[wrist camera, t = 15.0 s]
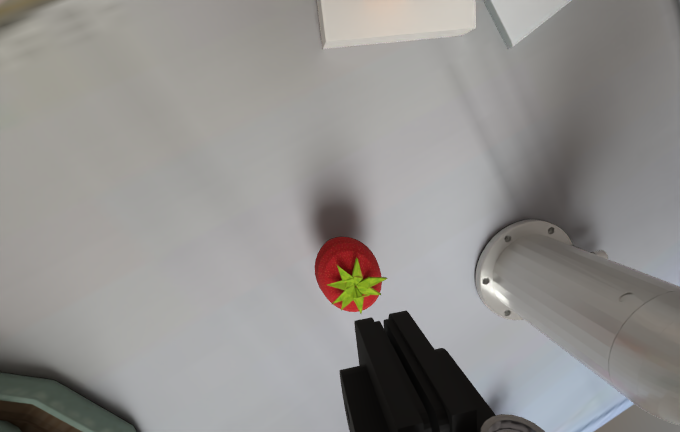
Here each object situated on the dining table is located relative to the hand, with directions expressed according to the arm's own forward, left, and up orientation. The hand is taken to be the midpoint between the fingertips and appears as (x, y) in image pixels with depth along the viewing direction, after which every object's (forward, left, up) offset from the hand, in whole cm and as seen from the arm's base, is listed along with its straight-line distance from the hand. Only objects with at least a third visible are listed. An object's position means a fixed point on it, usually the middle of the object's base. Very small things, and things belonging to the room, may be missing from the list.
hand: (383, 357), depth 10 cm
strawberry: (-2, +6, -25) cm, 26 cm away
